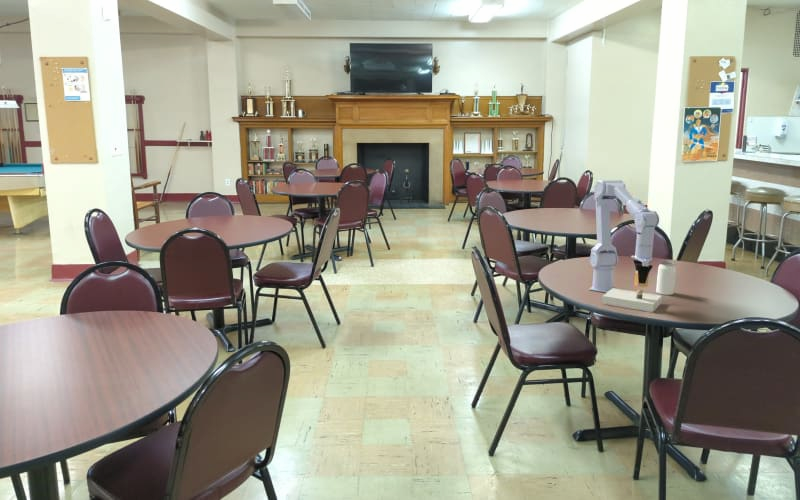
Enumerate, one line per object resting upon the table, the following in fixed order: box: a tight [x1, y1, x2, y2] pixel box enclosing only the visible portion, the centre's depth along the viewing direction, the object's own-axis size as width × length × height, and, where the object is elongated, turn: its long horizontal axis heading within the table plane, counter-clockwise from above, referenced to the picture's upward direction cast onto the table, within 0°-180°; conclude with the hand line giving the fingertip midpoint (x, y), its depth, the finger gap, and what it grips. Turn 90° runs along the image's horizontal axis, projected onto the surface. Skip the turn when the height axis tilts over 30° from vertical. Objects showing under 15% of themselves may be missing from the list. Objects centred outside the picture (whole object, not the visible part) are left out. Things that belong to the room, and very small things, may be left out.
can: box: [655, 261, 677, 296], centre depth 249 cm, size 6×6×12 cm
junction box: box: [601, 287, 663, 313], centre depth 234 cm, size 14×18×6 cm
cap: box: [633, 270, 650, 288], centre depth 230 cm, size 5×5×5 cm
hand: (640, 281), depth 230 cm, fingers closed on cap, 5 cm apart
